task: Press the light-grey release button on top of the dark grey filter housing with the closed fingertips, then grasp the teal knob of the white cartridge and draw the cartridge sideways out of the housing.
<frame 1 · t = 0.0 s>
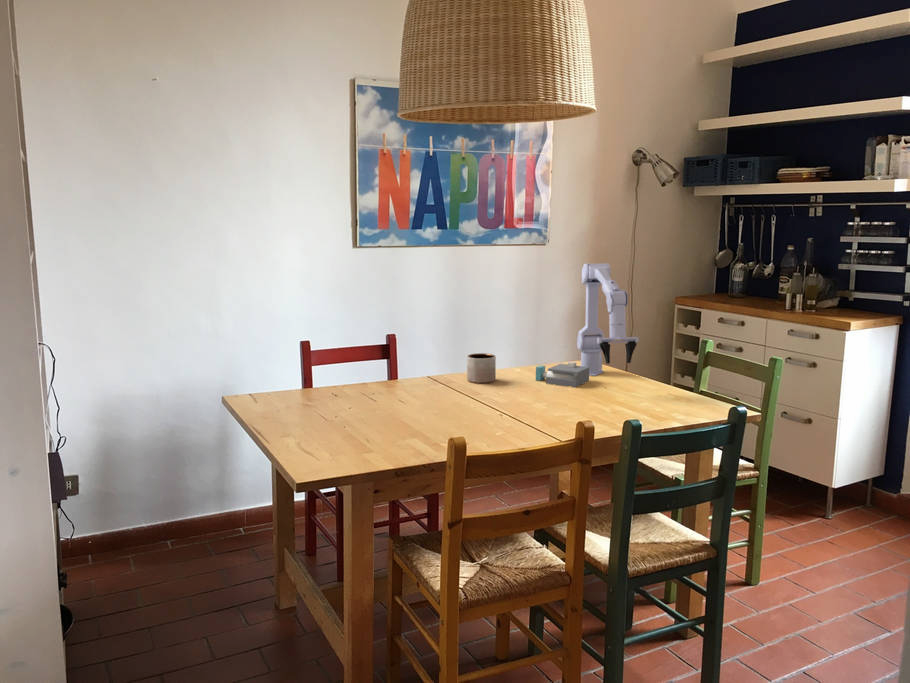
hand: (618, 363, 281), 11 cm above the table, tool pointing down, fingers open, 7 cm apart
button: (572, 365, 300), point 6 cm above the table, slide at 0.0 cm
cartridge: (556, 375, 298), point 3 cm above the table, slide at 0.0 cm
planter: (481, 381, 301), on the table
housing: (566, 382, 298), on the table
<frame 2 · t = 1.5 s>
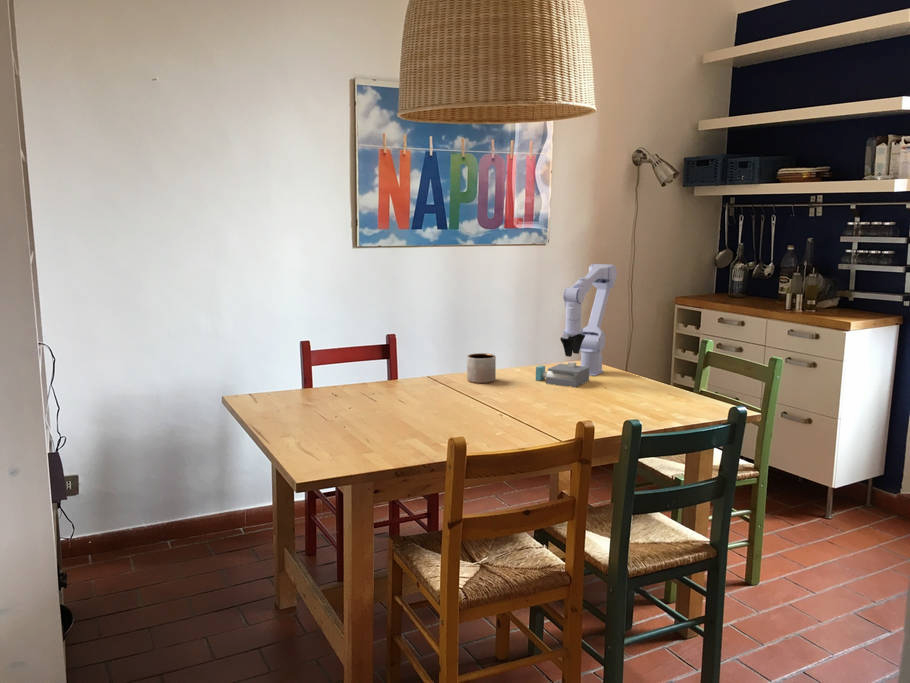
hand: (572, 354, 300), 10 cm above the table, tool pointing down, fingers open, 6 cm apart
nothing on the table moved.
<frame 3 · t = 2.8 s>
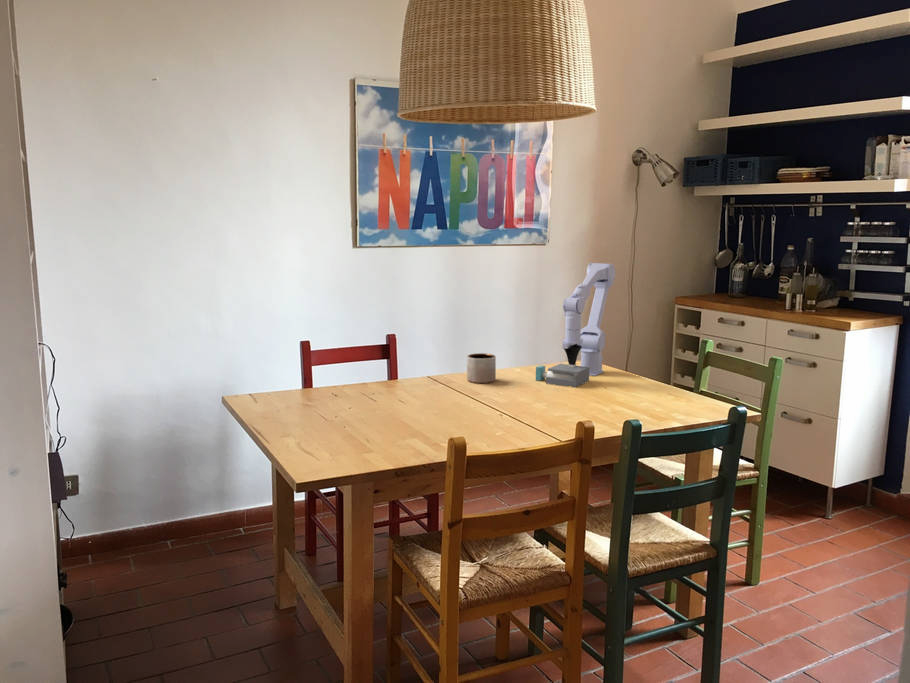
hand: (572, 364, 300), 6 cm above the table, tool pointing down, fingers closed, pressing on button
button: (571, 367, 301), point 5 cm above the table, slide at 0.7 cm, touching gripper
everything else where it was.
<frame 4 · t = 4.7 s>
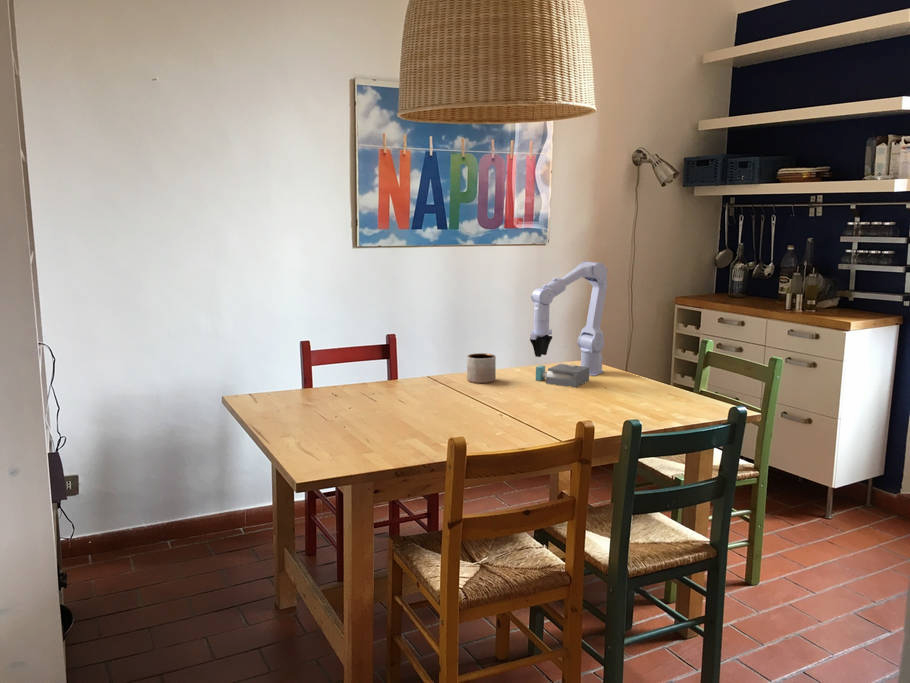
hand: (540, 355, 301), 9 cm above the table, tool pointing down, fingers open, 4 cm apart
button: (571, 368, 301), point 5 cm above the table, slide at 1.1 cm
everything else where it was.
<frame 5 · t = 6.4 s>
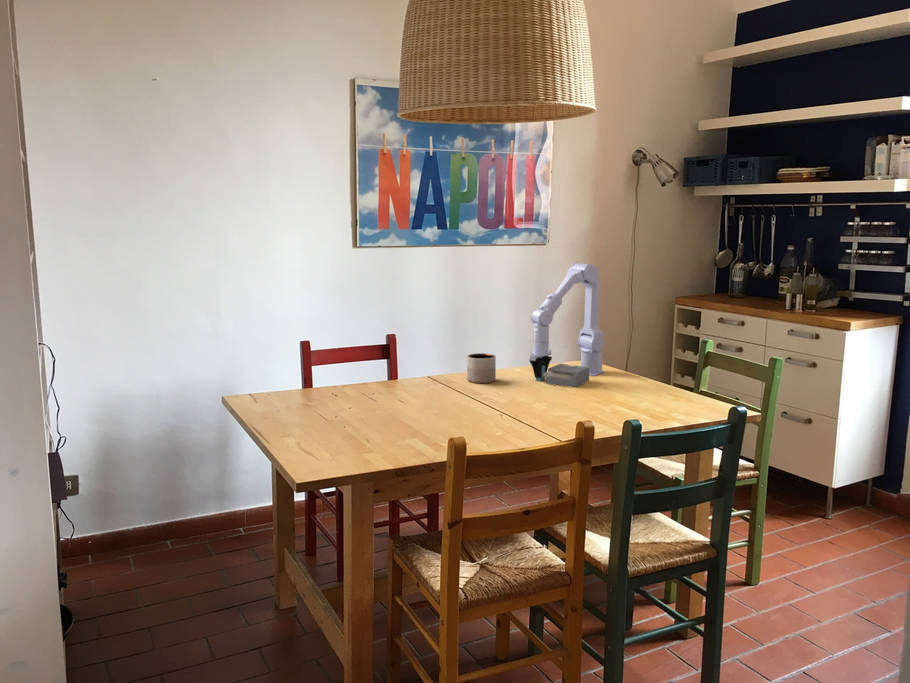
hand: (540, 376, 302), 1 cm above the table, tool pointing down, fingers closed on cartridge, 4 cm apart
cartridge: (556, 375, 298), point 3 cm above the table, slide at 0.0 cm, touching gripper
everything else where it was.
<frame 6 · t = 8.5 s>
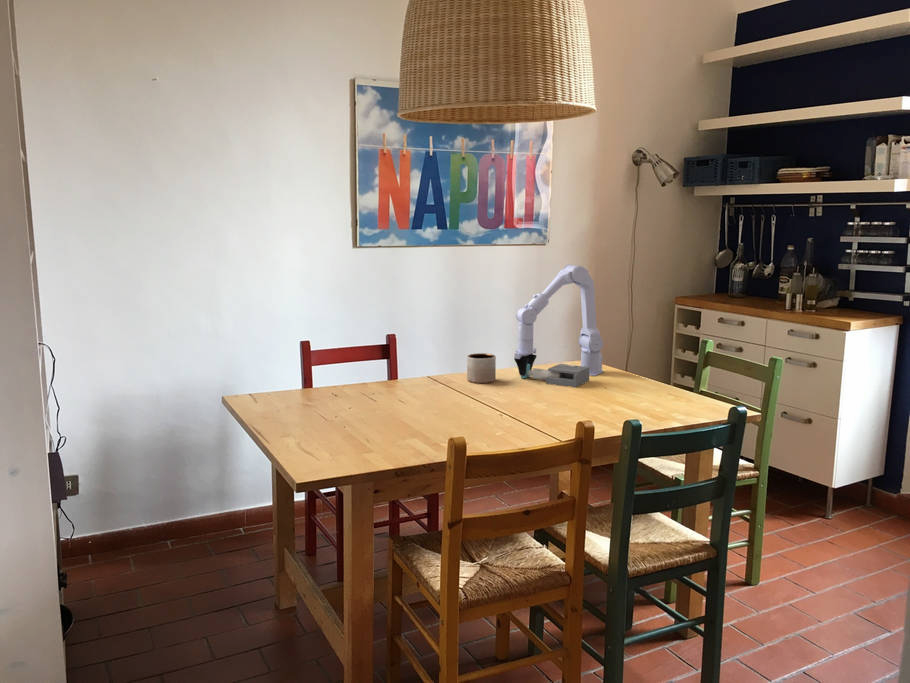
hand: (525, 374, 305), 1 cm above the table, tool pointing down, fingers closed on cartridge, 4 cm apart
cartridge: (541, 373, 302), point 3 cm above the table, slide at 6.3 cm, touching gripper
everything else where it was.
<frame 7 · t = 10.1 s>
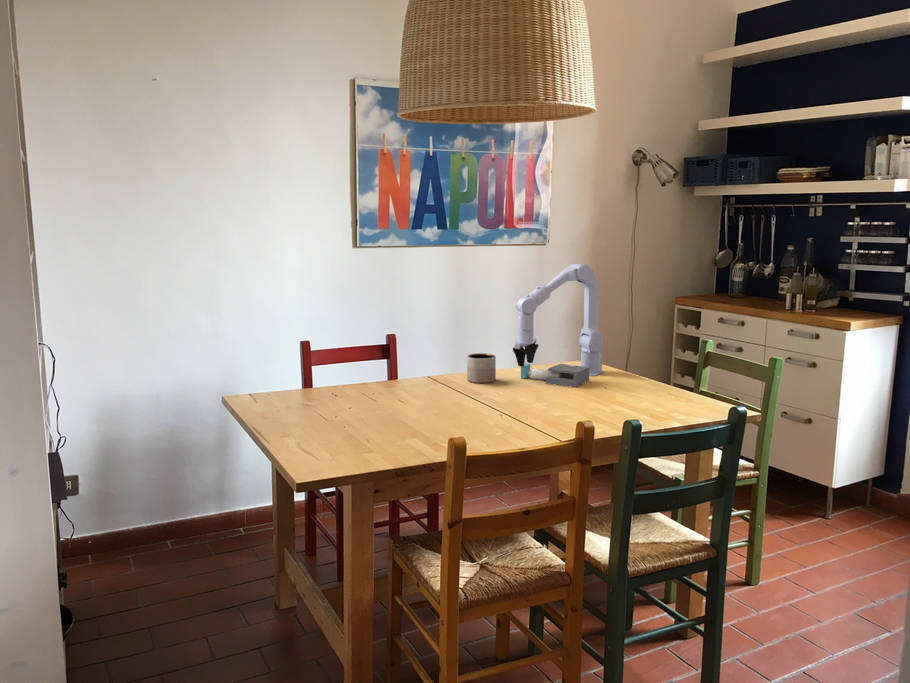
hand: (525, 364, 305), 5 cm above the table, tool pointing down, fingers open, 7 cm apart
cartridge: (541, 373, 302), point 3 cm above the table, slide at 6.3 cm
everything else where it was.
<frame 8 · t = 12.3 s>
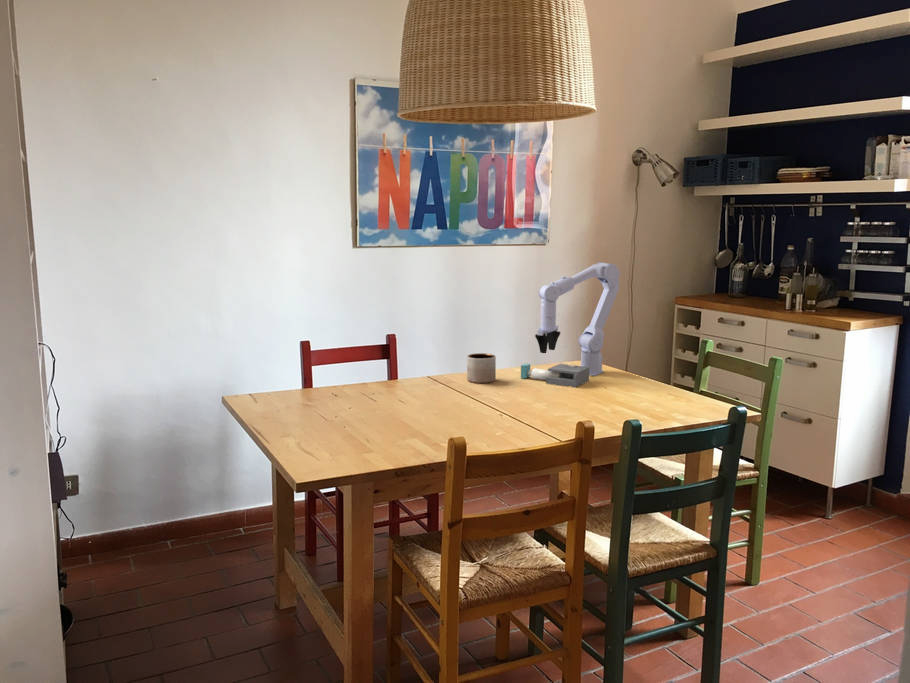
hand: (547, 351, 307), 10 cm above the table, tool pointing down, fingers open, 7 cm apart
nothing on the table moved.
at the end: button slide at 1.1 cm; cartridge slide at 6.3 cm; the gripper is holding nothing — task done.
